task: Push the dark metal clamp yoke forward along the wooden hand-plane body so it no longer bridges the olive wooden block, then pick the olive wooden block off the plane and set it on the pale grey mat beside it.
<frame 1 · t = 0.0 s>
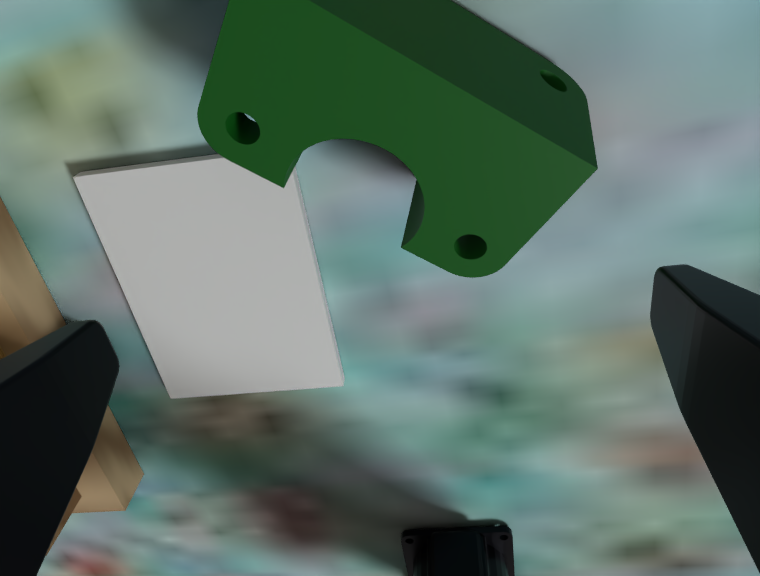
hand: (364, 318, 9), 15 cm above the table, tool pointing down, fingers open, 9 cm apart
clamp: (399, 90, 22), on the table
mat: (224, 284, 27), on the table
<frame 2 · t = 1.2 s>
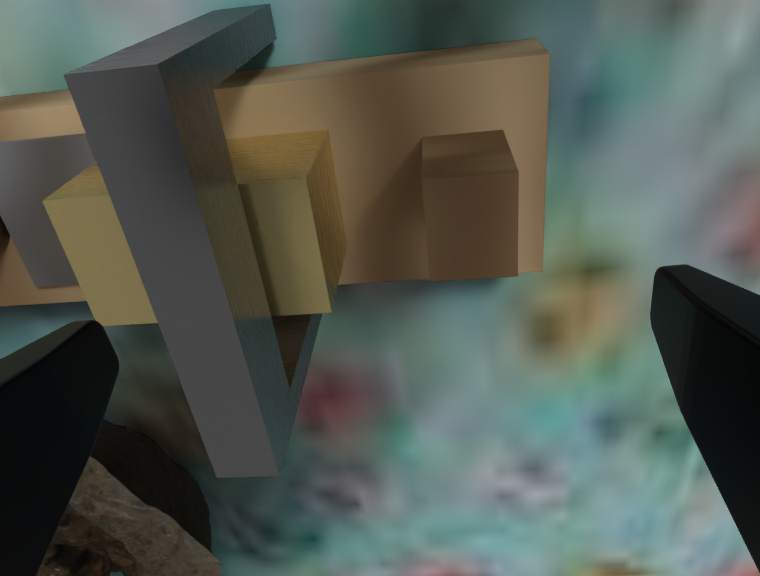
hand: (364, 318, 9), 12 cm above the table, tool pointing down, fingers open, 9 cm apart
plane body: (225, 174, 22), on the table
olive wooden block: (233, 199, 19), point 2 cm above the table, touching plane body
stone bowl: (59, 487, 32), on the table
clamp yoke: (244, 228, 17), point 5 cm above the table, slide at 0.0 cm
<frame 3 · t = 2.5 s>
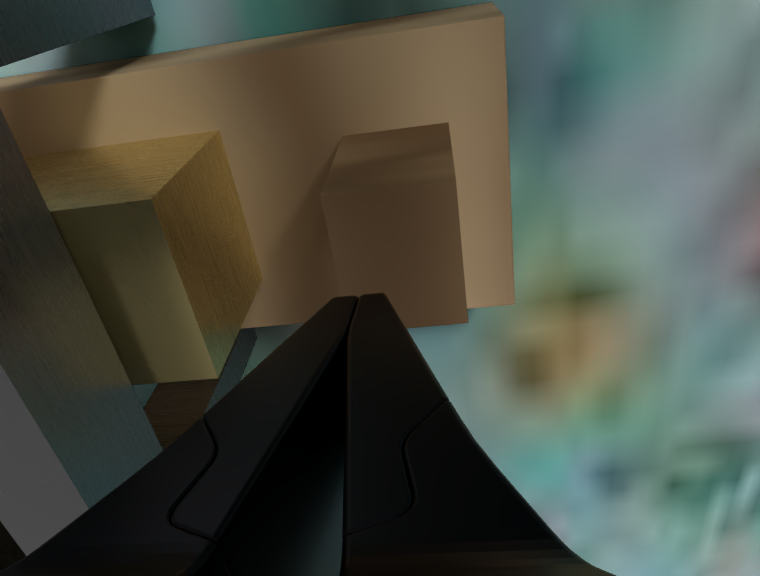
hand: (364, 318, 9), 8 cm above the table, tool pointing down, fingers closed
plane body: (117, 191, 17), on the table
olive wooden block: (110, 225, 15), point 2 cm above the table, touching plane body
clamp yoke: (106, 265, 13), point 5 cm above the table, slide at 0.0 cm
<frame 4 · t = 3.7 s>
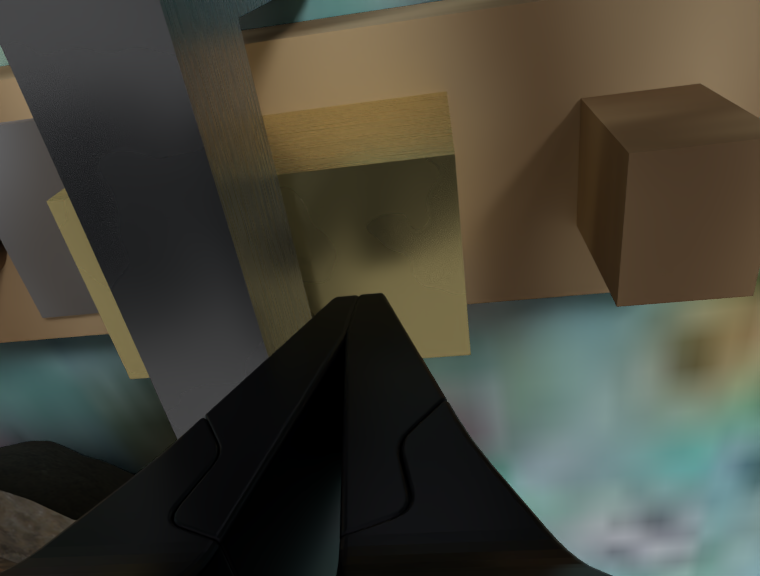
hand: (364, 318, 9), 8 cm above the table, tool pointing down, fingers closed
plane body: (287, 163, 16), on the table
olive wooden block: (307, 195, 14), point 2 cm above the table, touching plane body
stone bowl: (78, 545, 27), on the table
clamp yoke: (280, 240, 12), point 5 cm above the table, slide at 1.2 cm, touching gripper
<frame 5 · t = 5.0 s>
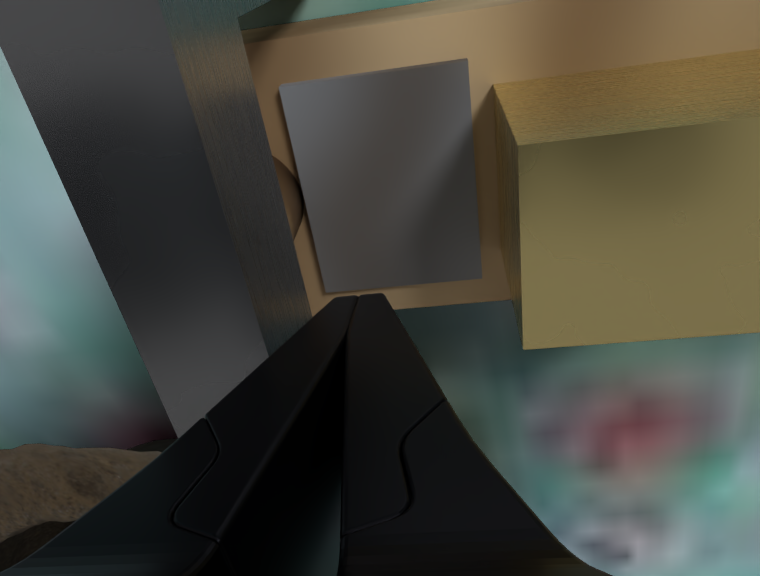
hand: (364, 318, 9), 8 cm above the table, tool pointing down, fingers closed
plane body: (584, 127, 15), on the table
olive wooden block: (657, 155, 13), point 2 cm above the table, touching plane body
stone bowl: (245, 539, 26), on the table
clamp yoke: (281, 239, 12), point 5 cm above the table, slide at 9.1 cm, touching gripper
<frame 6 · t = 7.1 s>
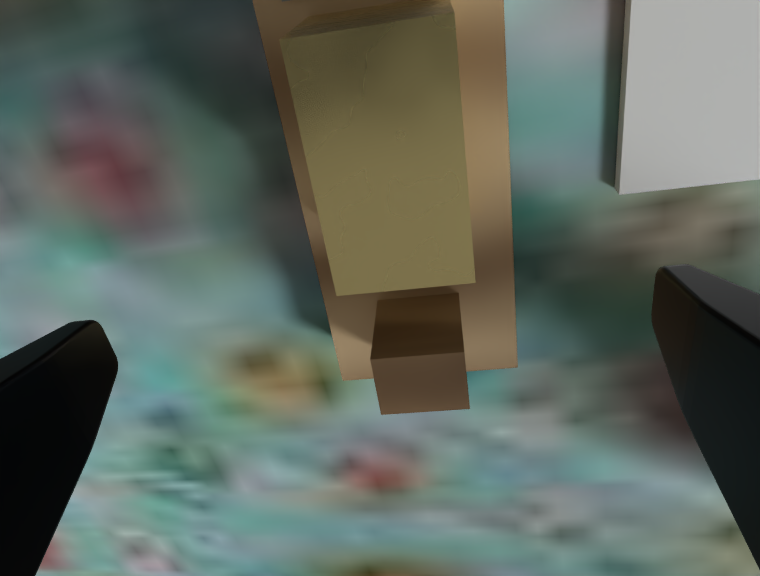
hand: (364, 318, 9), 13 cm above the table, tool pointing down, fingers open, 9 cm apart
plane body: (393, 76, 20), on the table
olive wooden block: (394, 127, 18), point 2 cm above the table, touching plane body
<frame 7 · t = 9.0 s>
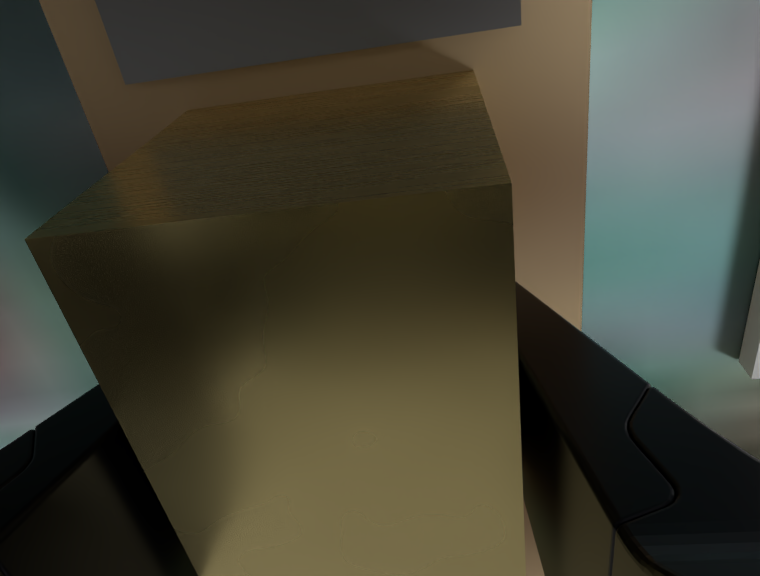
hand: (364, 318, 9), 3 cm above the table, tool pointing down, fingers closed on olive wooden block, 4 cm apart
plane body: (368, 190, 11), on the table
olive wooden block: (366, 303, 10), point 2 cm above the table, touching gripper, plane body
when the fingers open (2 cm above the table, at t = 13.2 s): olive wooden block stays where it is, resting on mat.
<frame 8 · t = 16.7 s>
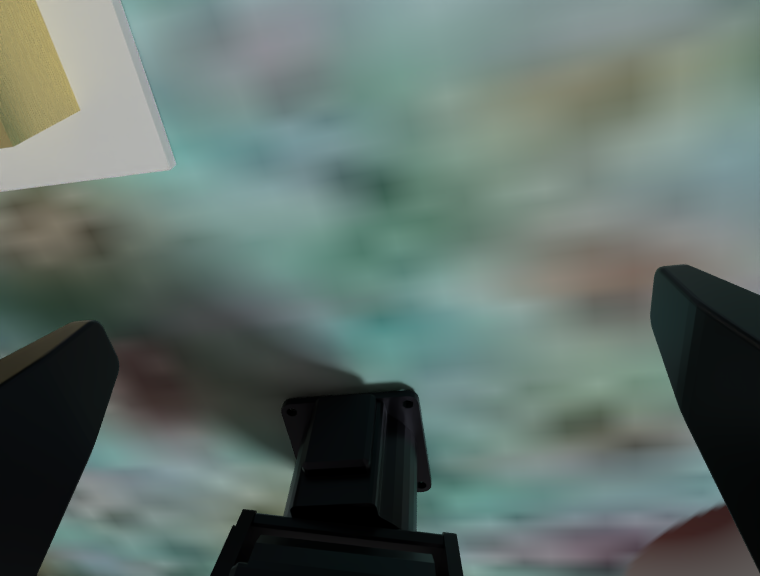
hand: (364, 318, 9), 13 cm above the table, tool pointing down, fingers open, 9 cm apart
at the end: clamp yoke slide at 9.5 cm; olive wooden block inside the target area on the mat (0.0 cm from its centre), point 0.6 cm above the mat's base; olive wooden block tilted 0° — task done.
